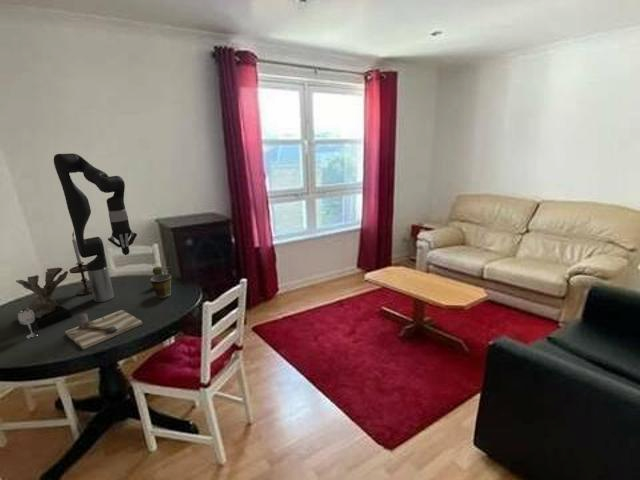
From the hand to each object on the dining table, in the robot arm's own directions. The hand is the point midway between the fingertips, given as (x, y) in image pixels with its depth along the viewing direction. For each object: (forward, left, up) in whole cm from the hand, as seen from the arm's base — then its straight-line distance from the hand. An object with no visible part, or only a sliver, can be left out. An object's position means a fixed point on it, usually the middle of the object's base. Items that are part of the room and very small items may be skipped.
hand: (126, 254), depth 175 cm
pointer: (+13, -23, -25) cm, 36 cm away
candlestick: (-42, -8, -27) cm, 51 cm away
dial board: (+12, -20, -27) cm, 36 cm away
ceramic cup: (-1, +14, -27) cm, 31 cm away
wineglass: (-10, -41, -27) cm, 50 cm away
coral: (-27, -29, -27) cm, 48 cm away
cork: (-14, +20, -27) cm, 37 cm away
